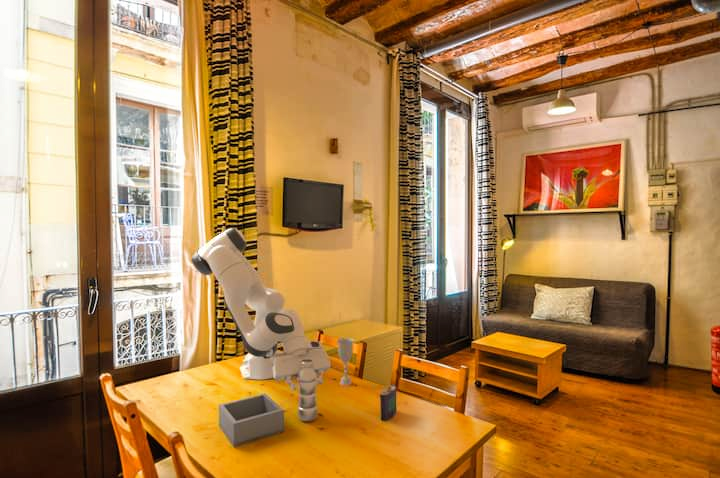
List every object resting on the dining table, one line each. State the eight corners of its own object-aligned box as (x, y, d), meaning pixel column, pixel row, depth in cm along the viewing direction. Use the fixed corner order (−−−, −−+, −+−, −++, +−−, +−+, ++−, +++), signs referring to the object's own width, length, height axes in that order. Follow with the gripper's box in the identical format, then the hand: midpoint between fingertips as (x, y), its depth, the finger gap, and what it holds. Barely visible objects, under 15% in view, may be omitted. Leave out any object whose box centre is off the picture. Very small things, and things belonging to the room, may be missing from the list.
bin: (218, 425, 132) (218, 404, 132) (265, 413, 141) (265, 393, 141) (233, 447, 119) (233, 423, 119) (284, 431, 128) (283, 409, 128)
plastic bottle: (314, 424, 132) (313, 364, 132) (295, 423, 134) (294, 363, 133) (320, 415, 139) (319, 358, 138) (301, 414, 140) (300, 357, 140)
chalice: (346, 378, 173) (346, 337, 173) (357, 382, 169) (357, 340, 168) (333, 383, 168) (333, 340, 168) (344, 387, 163) (344, 343, 163)
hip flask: (391, 409, 143) (391, 380, 143) (399, 411, 141) (398, 381, 141) (378, 420, 135) (378, 388, 135) (386, 422, 133) (386, 390, 133)
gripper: (270, 350, 137) (279, 388, 128) (325, 341, 147) (337, 376, 138) (266, 359, 141) (275, 397, 132) (320, 350, 151) (331, 385, 142)
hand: (307, 386), depth 135 cm, fingers open, 8 cm apart
